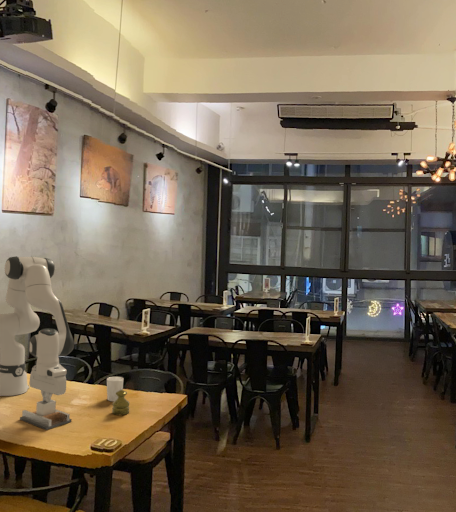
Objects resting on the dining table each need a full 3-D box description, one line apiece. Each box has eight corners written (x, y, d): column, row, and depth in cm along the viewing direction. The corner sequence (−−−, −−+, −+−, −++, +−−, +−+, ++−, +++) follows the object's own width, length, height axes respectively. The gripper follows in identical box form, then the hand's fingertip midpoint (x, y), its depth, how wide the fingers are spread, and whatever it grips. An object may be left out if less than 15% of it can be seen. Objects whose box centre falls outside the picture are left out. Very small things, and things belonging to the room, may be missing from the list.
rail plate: (19, 419, 202) (20, 411, 202) (45, 412, 212) (45, 404, 212) (46, 430, 192) (46, 421, 192) (71, 421, 202) (71, 413, 202)
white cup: (103, 398, 234) (103, 378, 234) (117, 395, 239) (118, 375, 239) (110, 403, 228) (111, 381, 228) (125, 400, 233) (126, 379, 233)
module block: (36, 418, 201) (36, 401, 201) (48, 415, 206) (49, 398, 206) (42, 421, 198) (43, 404, 198) (55, 417, 203) (55, 400, 203)
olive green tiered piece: (118, 408, 220) (119, 387, 220) (132, 411, 217) (133, 389, 217) (108, 413, 213) (109, 391, 213) (123, 416, 210) (123, 393, 210)
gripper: (26, 365, 205) (25, 398, 205) (56, 374, 193) (55, 408, 193) (39, 363, 210) (38, 394, 210) (69, 371, 198) (68, 404, 199)
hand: (46, 401), depth 202 cm, fingers closed, pressing on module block
